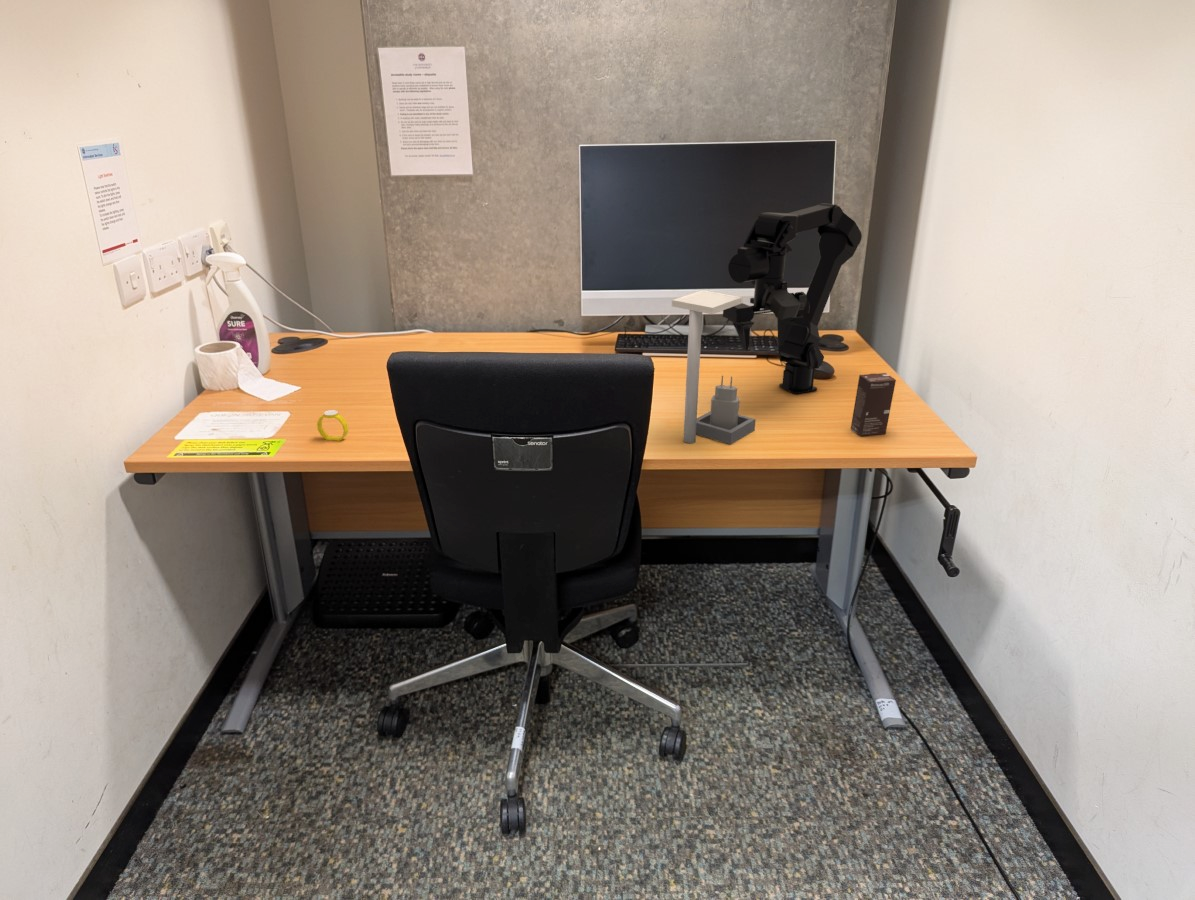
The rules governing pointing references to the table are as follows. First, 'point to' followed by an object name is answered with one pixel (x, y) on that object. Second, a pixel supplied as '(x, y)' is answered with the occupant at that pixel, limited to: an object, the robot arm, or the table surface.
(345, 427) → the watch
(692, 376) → the tall pedestal stand
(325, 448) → the table surface
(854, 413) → the box
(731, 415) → the power adapter
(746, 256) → the robot arm
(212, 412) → the table surface
